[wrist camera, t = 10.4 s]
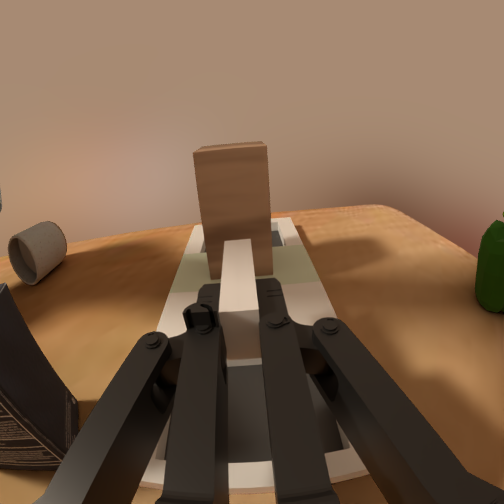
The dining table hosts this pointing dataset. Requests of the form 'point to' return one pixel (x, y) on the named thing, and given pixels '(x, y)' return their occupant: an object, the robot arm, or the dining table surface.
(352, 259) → the dining table surface
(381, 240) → the dining table surface
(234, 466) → the trap board
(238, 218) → the walnut block
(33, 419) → the small box
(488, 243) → the bell pepper
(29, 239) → the ceramic mug
